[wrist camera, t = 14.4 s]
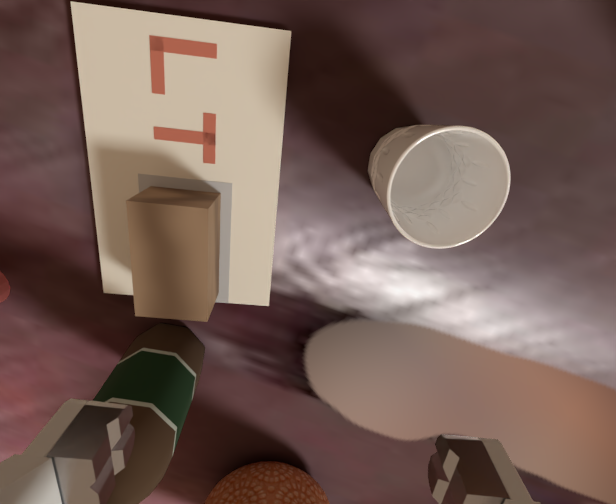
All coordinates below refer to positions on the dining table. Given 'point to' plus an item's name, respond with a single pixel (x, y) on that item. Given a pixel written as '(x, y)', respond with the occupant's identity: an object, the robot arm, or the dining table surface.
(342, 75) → the dining table surface
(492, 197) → the white cup
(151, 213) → the walnut bar
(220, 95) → the board
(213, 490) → the planter
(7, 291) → the plaque
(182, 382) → the beer bottle
